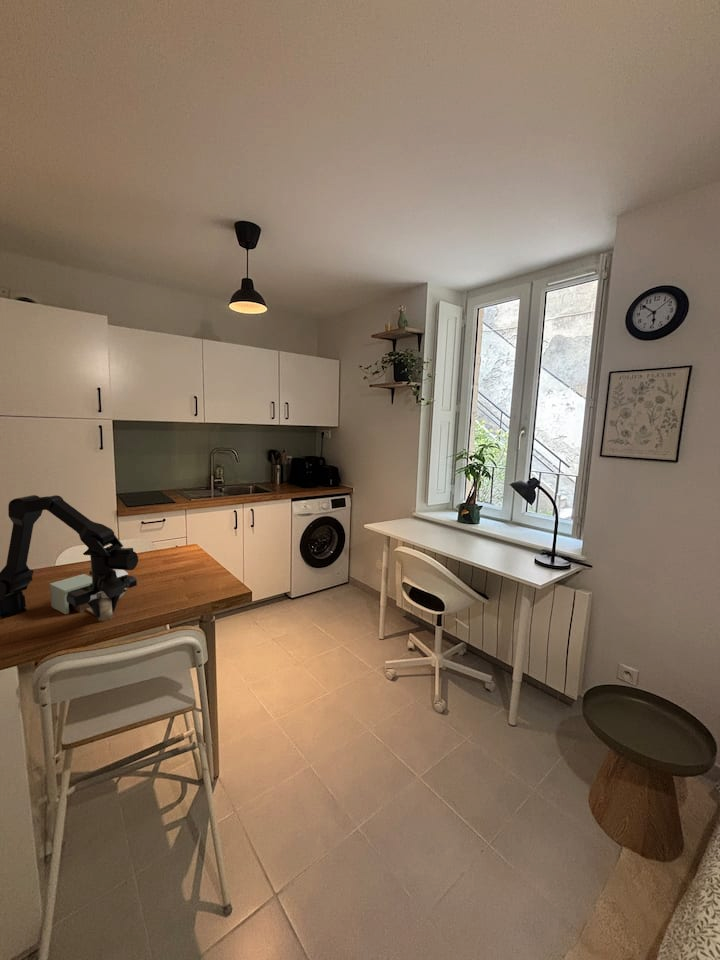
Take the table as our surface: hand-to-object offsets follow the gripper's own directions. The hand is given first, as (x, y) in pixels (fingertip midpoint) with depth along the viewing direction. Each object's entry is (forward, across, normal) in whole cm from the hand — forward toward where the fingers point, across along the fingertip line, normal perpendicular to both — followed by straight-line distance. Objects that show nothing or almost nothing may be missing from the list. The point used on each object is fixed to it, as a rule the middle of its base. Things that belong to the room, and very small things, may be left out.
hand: (105, 614), depth 127 cm
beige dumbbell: (+1, 0, +7) cm, 7 cm away
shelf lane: (+1, 0, +17) cm, 17 cm away
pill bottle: (-2, +15, +20) cm, 25 cm away
